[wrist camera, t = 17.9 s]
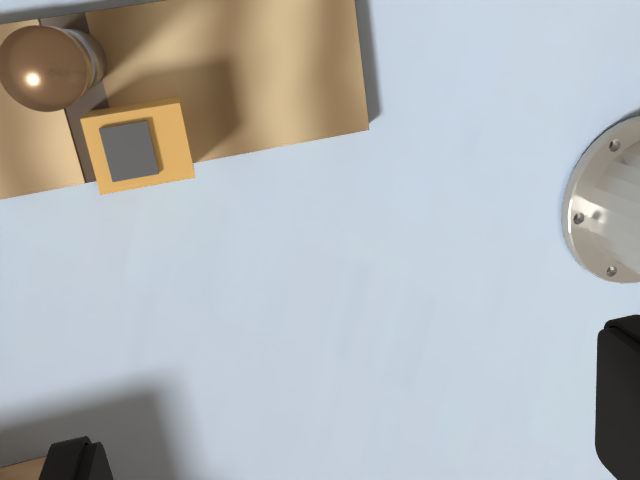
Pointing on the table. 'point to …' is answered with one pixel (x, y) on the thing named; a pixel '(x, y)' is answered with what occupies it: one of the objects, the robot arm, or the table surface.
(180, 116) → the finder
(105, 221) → the table surface
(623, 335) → the robot arm
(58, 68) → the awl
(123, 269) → the table surface
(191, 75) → the board
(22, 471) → the block caddy
